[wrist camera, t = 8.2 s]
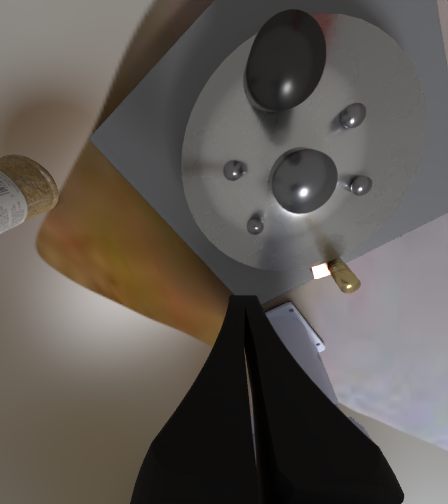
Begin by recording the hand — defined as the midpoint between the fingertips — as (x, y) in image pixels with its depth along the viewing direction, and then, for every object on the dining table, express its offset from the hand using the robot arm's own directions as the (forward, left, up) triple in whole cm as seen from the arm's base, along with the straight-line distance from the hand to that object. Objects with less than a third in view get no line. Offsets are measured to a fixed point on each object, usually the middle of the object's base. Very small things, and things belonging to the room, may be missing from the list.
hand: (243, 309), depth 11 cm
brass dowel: (-7, -5, -9) cm, 13 cm away
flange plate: (+1, -6, -8) cm, 10 cm away
